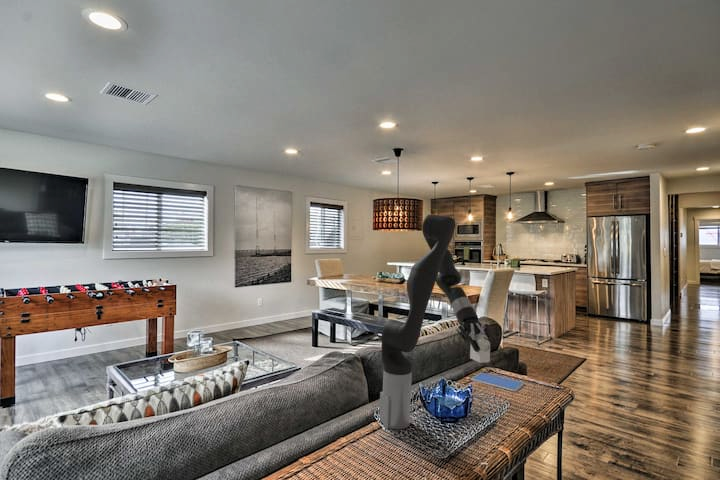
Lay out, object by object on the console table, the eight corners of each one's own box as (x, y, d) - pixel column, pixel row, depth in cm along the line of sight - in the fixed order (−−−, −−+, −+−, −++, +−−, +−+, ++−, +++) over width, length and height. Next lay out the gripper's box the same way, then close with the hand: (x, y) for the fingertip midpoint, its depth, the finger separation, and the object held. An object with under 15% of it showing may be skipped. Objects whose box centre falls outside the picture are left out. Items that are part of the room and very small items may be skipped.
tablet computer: (470, 381, 167) (470, 378, 167) (481, 374, 177) (481, 371, 177) (515, 393, 155) (515, 390, 155) (524, 385, 164) (524, 382, 164)
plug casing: (479, 362, 137) (480, 336, 137) (470, 358, 142) (470, 333, 142) (489, 361, 139) (490, 336, 139) (479, 357, 144) (480, 332, 144)
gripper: (453, 306, 145) (472, 346, 134) (483, 305, 150) (504, 343, 139) (445, 317, 150) (462, 357, 139) (474, 316, 155) (493, 354, 144)
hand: (483, 350), depth 139 cm, fingers closed on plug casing, 4 cm apart
